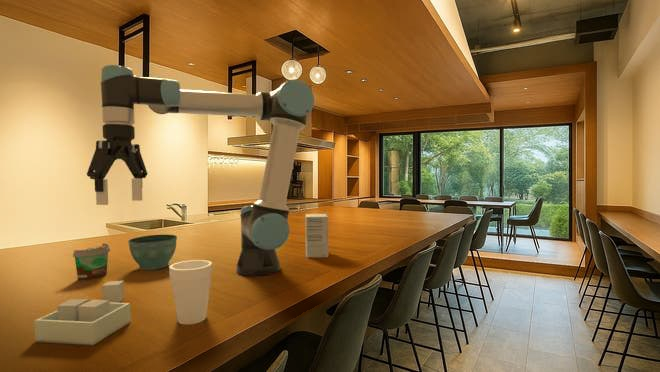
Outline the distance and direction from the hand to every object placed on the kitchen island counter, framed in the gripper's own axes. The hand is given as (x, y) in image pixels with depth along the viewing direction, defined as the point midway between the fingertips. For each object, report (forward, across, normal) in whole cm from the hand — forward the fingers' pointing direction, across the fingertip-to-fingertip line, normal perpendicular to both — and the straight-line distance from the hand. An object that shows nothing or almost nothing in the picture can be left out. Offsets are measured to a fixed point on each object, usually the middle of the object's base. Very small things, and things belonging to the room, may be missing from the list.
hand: (121, 202), depth 98 cm
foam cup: (+27, +11, +26) cm, 39 cm away
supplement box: (+27, -57, +45) cm, 77 cm away
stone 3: (+27, +2, -2) cm, 27 cm away
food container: (+27, -19, -24) cm, 41 cm away
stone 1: (+26, +20, +3) cm, 33 cm away
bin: (+27, +20, +6) cm, 34 cm away
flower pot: (+27, -32, -12) cm, 43 cm away
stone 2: (+26, +20, +8) cm, 34 cm away
